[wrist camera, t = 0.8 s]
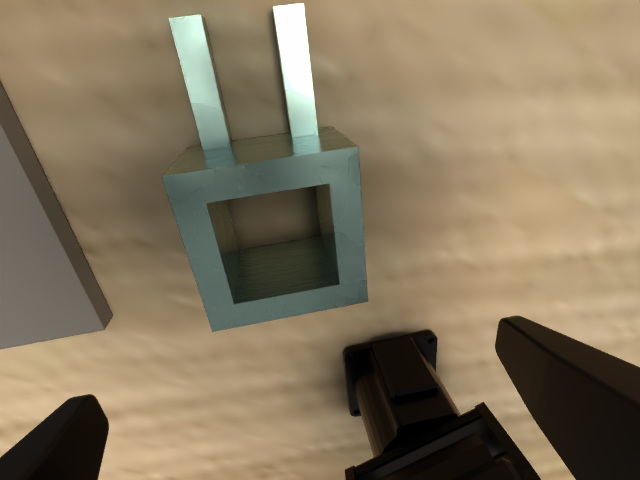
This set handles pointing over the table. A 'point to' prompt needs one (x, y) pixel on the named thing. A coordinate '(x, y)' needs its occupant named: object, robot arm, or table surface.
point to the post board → (39, 252)
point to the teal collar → (265, 191)
